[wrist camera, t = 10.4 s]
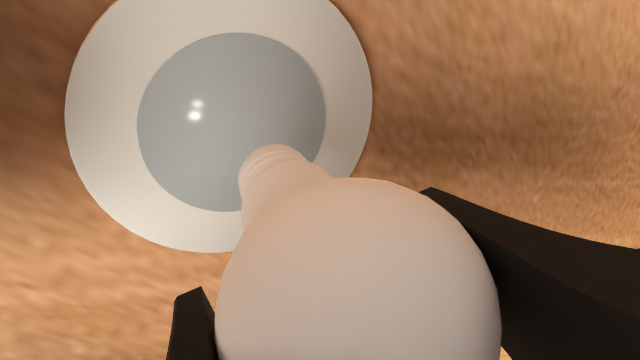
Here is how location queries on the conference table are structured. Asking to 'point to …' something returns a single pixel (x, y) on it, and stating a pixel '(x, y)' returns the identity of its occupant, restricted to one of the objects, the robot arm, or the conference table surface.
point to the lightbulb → (349, 271)
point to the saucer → (209, 107)
